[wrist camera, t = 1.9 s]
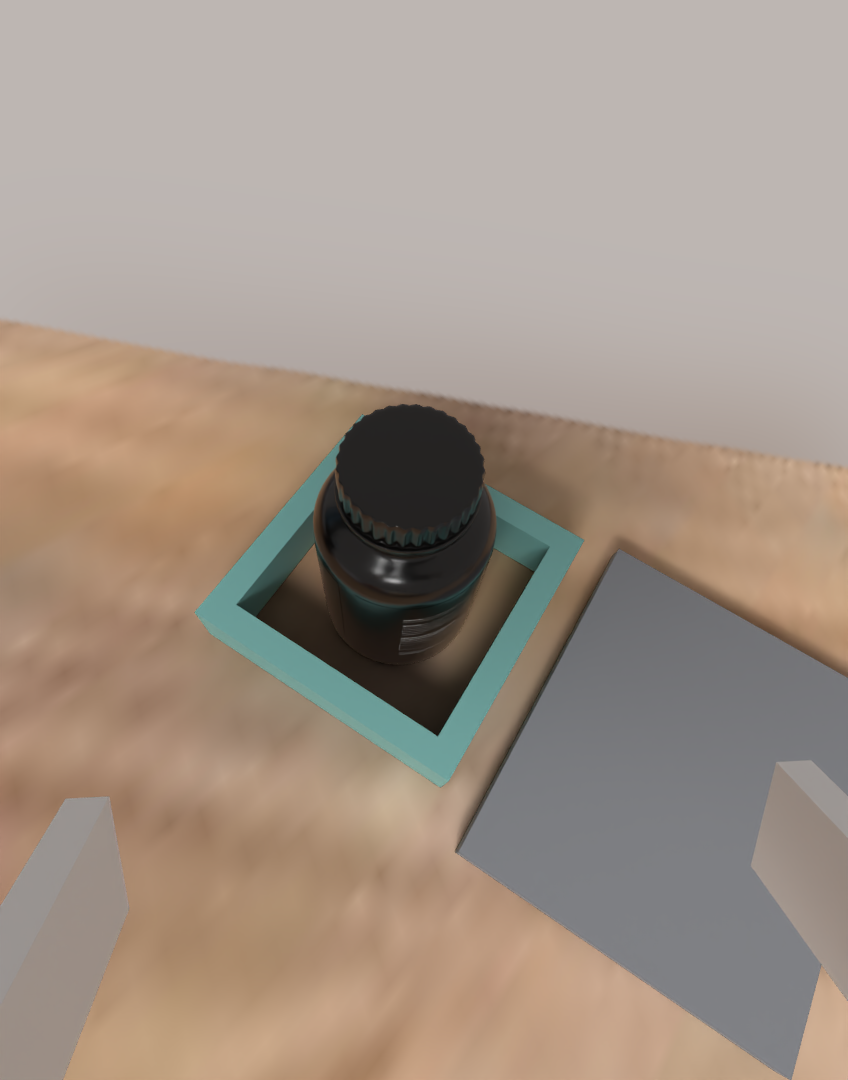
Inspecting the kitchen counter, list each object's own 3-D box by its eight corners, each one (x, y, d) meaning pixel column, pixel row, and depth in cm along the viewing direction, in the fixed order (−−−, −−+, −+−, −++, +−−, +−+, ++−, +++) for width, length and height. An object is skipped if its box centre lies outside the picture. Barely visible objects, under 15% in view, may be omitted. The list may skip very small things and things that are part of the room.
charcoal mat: (455, 852, 26) (458, 852, 25) (612, 556, 32) (619, 548, 32) (775, 1071, 24) (791, 1080, 23) (874, 706, 30) (890, 701, 29)
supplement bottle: (472, 545, 32) (527, 394, 21) (460, 677, 29) (516, 580, 18) (338, 525, 32) (325, 364, 21) (312, 657, 29) (281, 546, 18)
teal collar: (210, 633, 29) (194, 612, 26) (362, 448, 34) (362, 414, 31) (440, 787, 27) (448, 781, 24) (565, 565, 32) (584, 540, 29)
